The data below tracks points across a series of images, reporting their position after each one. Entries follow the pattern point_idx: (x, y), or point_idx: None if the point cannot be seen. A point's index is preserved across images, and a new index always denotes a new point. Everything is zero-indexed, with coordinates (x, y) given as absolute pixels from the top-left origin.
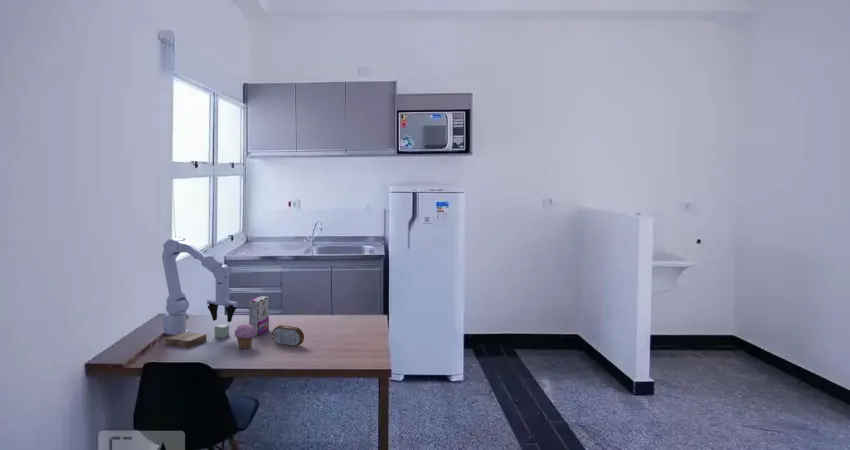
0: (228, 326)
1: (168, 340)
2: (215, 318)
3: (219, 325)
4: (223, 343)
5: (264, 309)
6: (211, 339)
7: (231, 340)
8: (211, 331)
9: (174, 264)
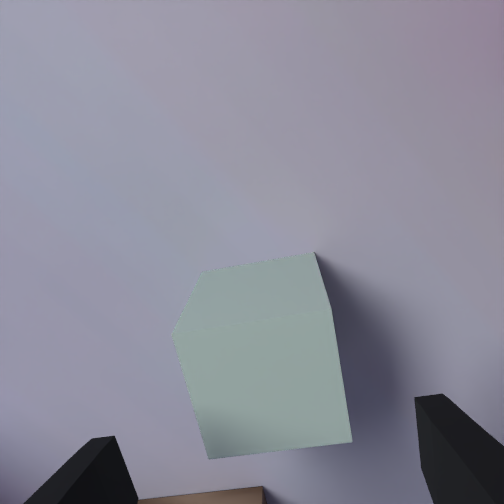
0: (331, 317)
1: None
2: (112, 495)
3: (215, 390)
4: None
5: None
6: None
7: (465, 375)
8: (7, 218)
9: None
